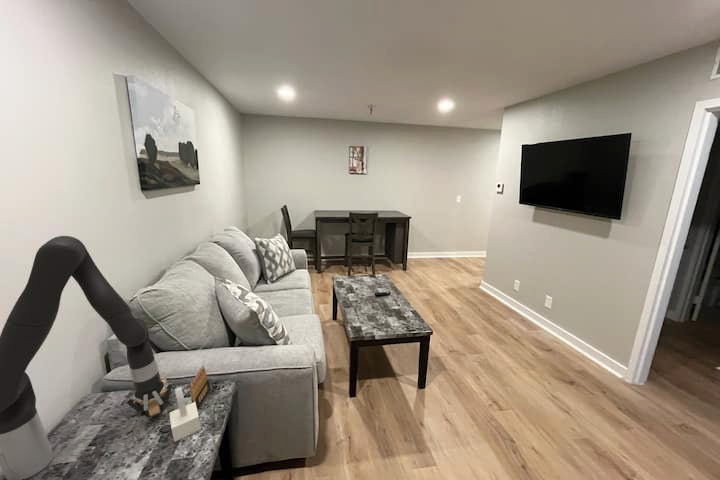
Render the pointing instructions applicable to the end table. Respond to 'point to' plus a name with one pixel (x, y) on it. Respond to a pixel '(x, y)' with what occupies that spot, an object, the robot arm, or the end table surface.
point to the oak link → (154, 401)
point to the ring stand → (184, 418)
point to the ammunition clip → (200, 387)
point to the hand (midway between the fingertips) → (156, 413)
